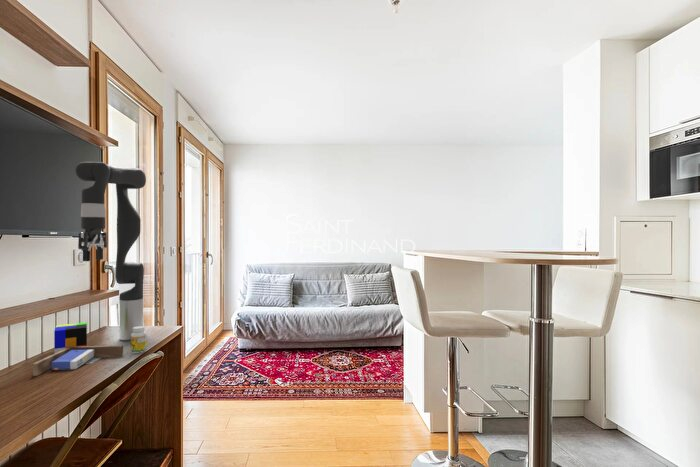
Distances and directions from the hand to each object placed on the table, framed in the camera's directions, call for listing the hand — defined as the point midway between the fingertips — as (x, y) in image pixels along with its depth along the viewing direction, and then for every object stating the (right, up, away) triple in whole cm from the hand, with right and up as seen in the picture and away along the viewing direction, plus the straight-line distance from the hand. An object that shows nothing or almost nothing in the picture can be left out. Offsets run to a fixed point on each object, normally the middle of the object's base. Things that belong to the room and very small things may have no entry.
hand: (93, 260), depth 146 cm
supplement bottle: (+12, -36, +8) cm, 39 cm away
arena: (+1, -36, -7) cm, 37 cm away
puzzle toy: (-14, -36, +8) cm, 40 cm away
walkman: (-3, -34, 0) cm, 34 cm away
